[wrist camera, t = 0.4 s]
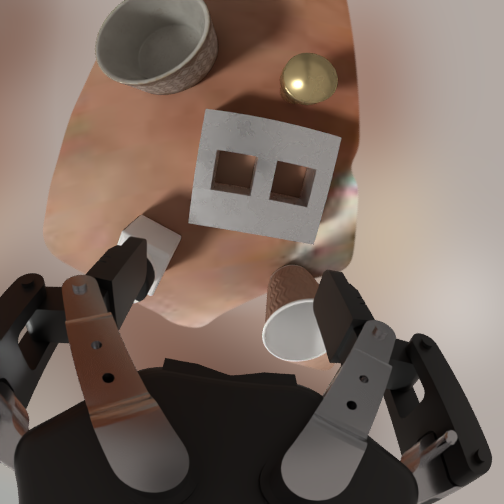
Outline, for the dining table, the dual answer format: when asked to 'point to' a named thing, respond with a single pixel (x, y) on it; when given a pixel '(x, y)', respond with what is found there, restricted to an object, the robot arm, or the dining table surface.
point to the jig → (262, 176)
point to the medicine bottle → (152, 250)
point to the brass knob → (308, 79)
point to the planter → (157, 44)
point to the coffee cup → (292, 316)
